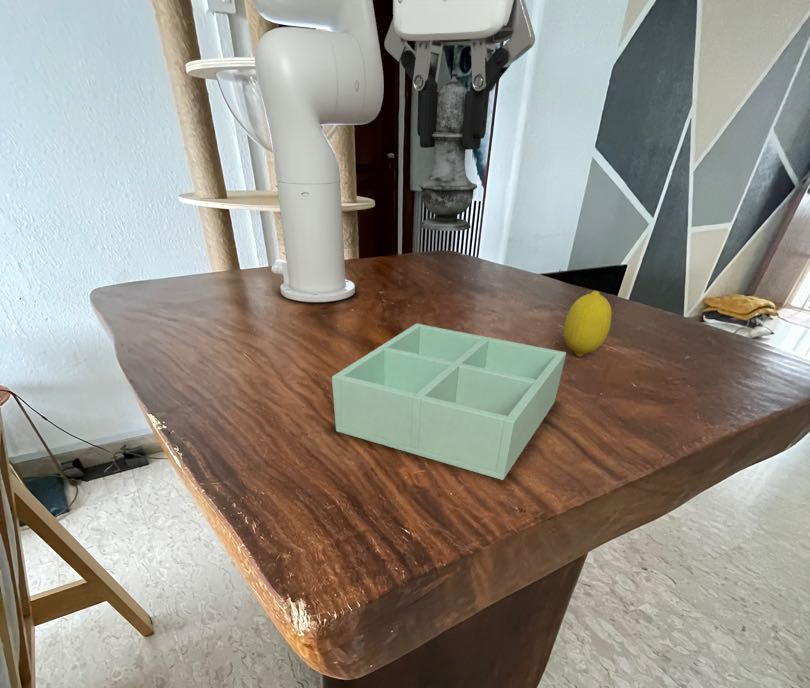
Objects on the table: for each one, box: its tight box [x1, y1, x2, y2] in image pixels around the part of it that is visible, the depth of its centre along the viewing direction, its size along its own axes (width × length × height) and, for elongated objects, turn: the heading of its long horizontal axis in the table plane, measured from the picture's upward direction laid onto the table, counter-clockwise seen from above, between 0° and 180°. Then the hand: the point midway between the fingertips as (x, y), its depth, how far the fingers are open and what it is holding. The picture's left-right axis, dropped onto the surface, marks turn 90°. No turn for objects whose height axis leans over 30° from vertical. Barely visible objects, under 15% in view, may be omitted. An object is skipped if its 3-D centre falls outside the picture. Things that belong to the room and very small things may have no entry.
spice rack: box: [331, 322, 567, 481], centre depth 50 cm, size 17×17×6 cm
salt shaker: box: [418, 67, 478, 232], centre depth 47 cm, size 6×6×12 cm
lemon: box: [563, 290, 612, 358], centre depth 62 cm, size 6×6×8 cm
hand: (450, 145), depth 47 cm, fingers closed on salt shaker, 3 cm apart
